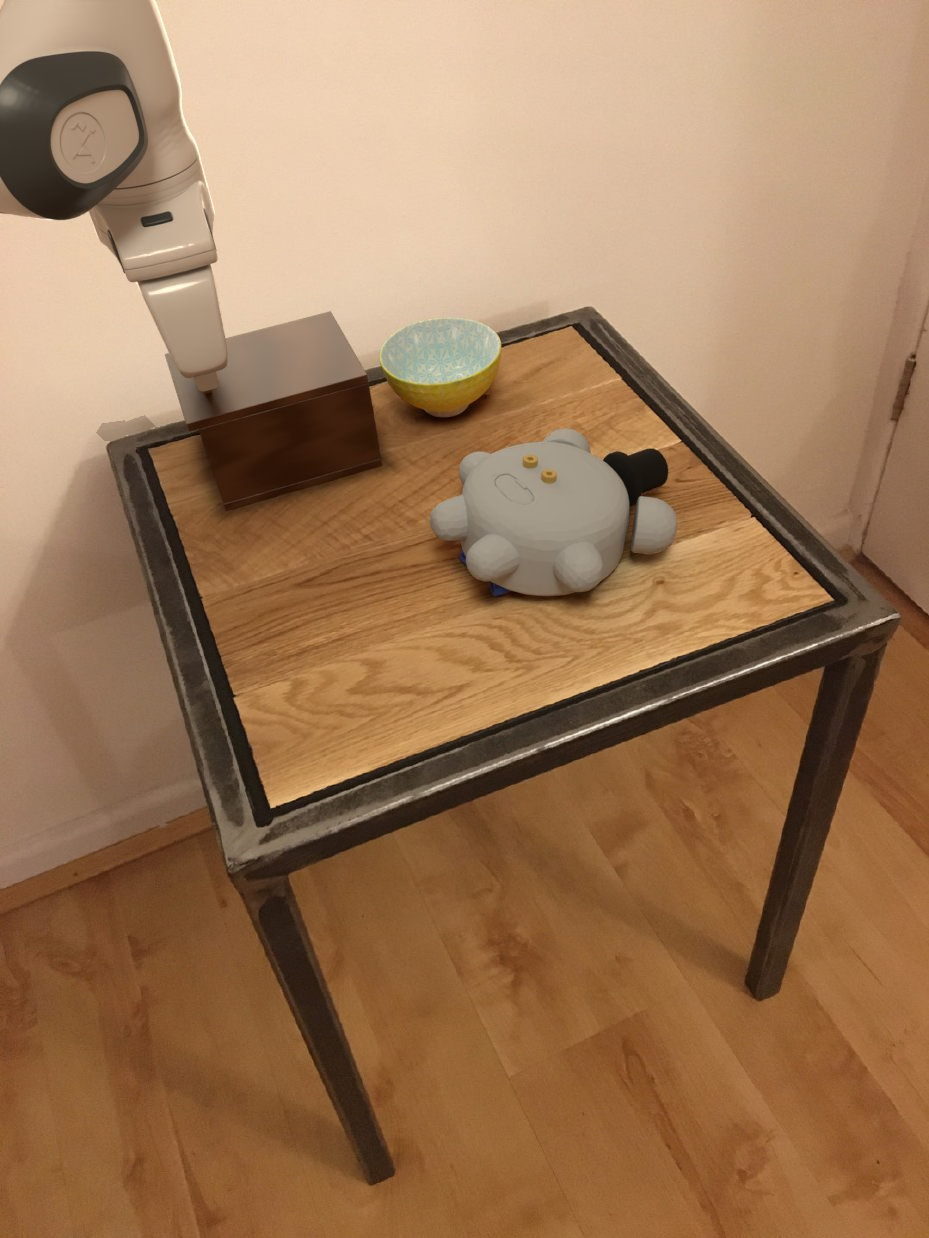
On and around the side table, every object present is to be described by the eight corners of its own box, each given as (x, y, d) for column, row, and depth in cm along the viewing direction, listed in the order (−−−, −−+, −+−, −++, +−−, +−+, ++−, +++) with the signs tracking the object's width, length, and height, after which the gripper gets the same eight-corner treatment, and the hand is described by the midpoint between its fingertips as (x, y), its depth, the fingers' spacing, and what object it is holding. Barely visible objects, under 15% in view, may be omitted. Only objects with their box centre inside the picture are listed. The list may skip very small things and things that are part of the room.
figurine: (511, 658, 70) (716, 568, 78) (518, 571, 64) (739, 482, 72) (397, 529, 81) (588, 461, 88) (394, 444, 75) (599, 379, 82)
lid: (188, 432, 78) (168, 372, 74) (166, 361, 85) (147, 304, 81) (368, 382, 81) (358, 323, 77) (332, 318, 88) (321, 261, 84)
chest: (225, 511, 84) (198, 429, 78) (202, 439, 92) (175, 359, 86) (382, 465, 87) (368, 383, 81) (347, 399, 95) (332, 319, 88)
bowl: (364, 403, 94) (354, 347, 90) (457, 358, 98) (452, 303, 94) (432, 456, 88) (425, 399, 83) (528, 405, 92) (526, 348, 88)
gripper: (92, 161, 77) (146, 318, 87) (124, 272, 63) (184, 442, 73) (170, 145, 78) (215, 301, 88) (217, 250, 65) (263, 420, 75)
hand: (201, 366), depth 81 cm, fingers closed on lid, 5 cm apart
